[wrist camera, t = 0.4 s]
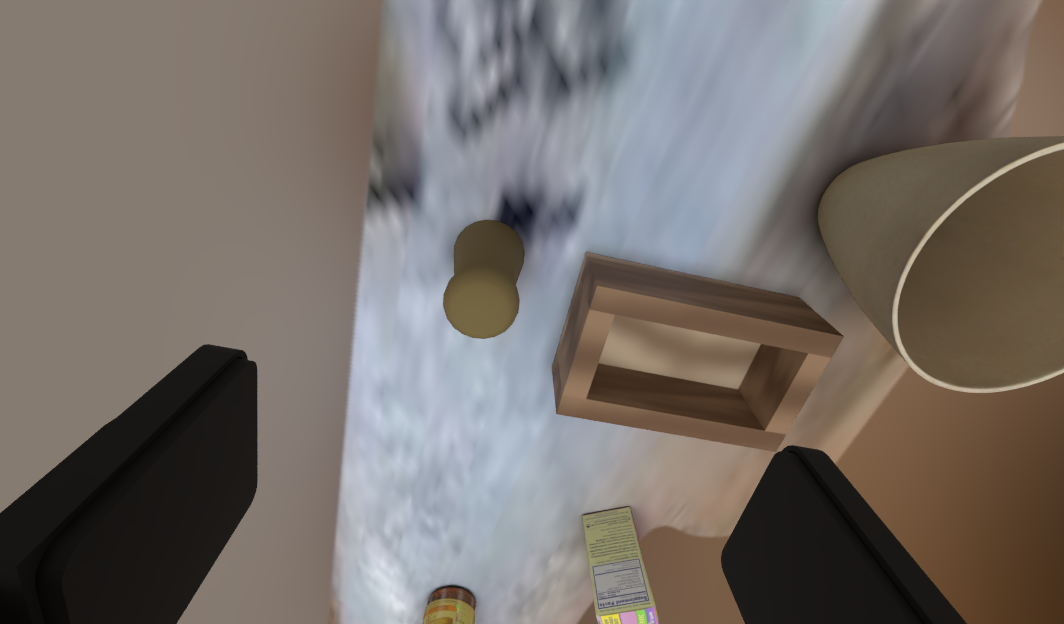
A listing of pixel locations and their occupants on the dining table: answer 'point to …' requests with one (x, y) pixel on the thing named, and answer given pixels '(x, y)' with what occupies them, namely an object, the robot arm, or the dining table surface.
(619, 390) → the walnut well caddy
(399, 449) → the dining table surface
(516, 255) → the olive brown gourd shape
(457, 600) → the sauce bottle
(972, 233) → the plant pot
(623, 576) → the box
